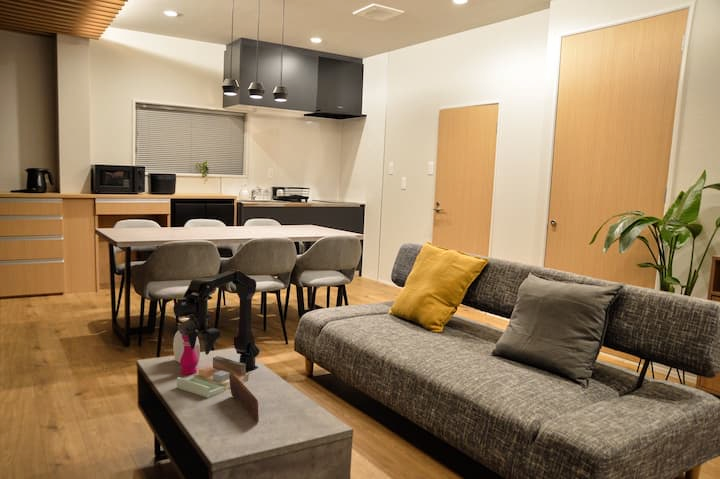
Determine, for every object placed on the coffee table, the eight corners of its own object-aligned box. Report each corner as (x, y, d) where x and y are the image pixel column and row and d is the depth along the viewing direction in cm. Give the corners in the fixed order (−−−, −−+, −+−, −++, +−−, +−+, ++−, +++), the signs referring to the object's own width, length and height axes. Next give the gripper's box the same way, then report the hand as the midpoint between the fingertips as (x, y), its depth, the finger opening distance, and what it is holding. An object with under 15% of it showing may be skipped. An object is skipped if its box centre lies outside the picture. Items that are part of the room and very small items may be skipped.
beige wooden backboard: (220, 372, 230) (220, 365, 230) (248, 381, 222) (248, 373, 222) (194, 381, 218) (194, 374, 218) (222, 391, 210) (222, 383, 210)
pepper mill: (200, 370, 232) (201, 324, 230) (193, 376, 225) (194, 328, 223) (184, 368, 233) (184, 322, 231) (176, 374, 225) (177, 327, 223)
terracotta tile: (207, 372, 222) (207, 366, 221) (215, 374, 219) (215, 368, 219) (198, 375, 218) (198, 369, 218) (206, 377, 215) (206, 371, 215)
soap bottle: (172, 359, 244) (172, 315, 242) (183, 357, 247) (183, 314, 245) (188, 369, 232) (189, 323, 230) (200, 366, 236) (200, 321, 234)
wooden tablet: (262, 423, 184) (262, 395, 183) (256, 425, 183) (256, 396, 182) (234, 396, 206) (234, 370, 205) (228, 397, 205) (228, 371, 204)
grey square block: (221, 376, 217) (221, 370, 217) (229, 378, 215) (229, 372, 215) (212, 379, 214) (212, 373, 213) (221, 382, 211) (221, 376, 211)
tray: (193, 381, 219) (193, 371, 218) (223, 391, 210) (223, 381, 209) (176, 387, 212) (177, 377, 211) (207, 398, 203) (207, 387, 203)
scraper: (217, 366, 228) (217, 355, 228) (245, 375, 220) (245, 364, 220) (212, 368, 226) (212, 357, 226) (241, 376, 218) (241, 365, 218)
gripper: (167, 311, 209) (167, 350, 211) (196, 320, 197) (196, 362, 199) (192, 306, 218) (192, 344, 219) (221, 315, 206) (221, 355, 208)
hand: (199, 351), depth 211 cm, fingers open, 9 cm apart
